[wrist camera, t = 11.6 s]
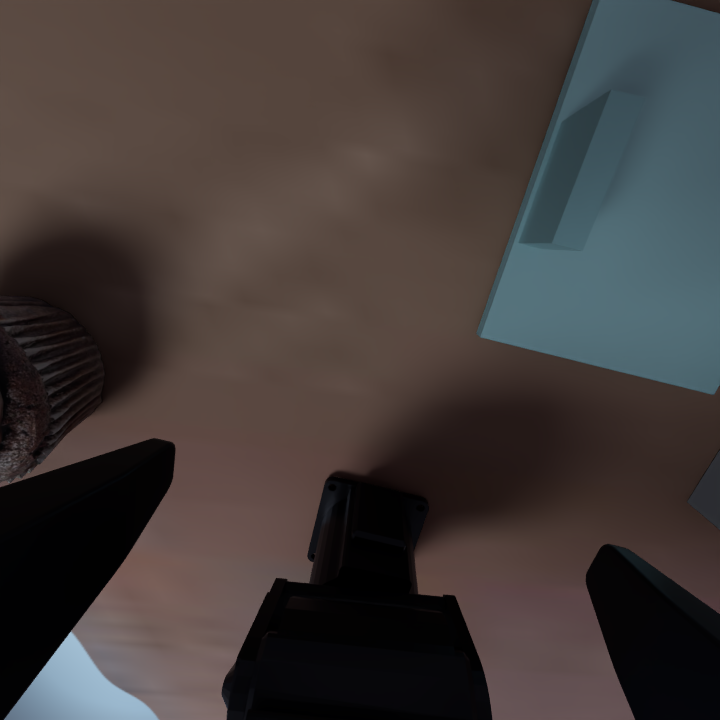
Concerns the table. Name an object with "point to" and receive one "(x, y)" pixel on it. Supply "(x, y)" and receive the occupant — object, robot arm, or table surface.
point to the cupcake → (42, 381)
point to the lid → (625, 204)
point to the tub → (708, 493)
